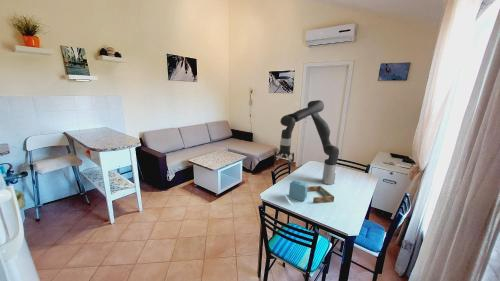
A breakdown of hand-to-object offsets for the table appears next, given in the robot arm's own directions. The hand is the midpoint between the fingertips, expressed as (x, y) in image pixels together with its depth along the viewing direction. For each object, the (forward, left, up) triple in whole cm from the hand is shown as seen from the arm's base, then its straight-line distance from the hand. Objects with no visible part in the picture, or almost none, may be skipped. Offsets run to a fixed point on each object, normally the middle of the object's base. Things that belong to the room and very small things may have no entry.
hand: (283, 165), depth 147 cm
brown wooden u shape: (-27, +7, -23) cm, 36 cm away
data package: (-10, +7, -24) cm, 27 cm away
